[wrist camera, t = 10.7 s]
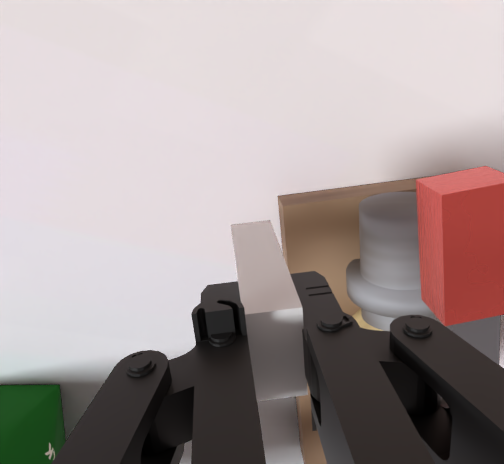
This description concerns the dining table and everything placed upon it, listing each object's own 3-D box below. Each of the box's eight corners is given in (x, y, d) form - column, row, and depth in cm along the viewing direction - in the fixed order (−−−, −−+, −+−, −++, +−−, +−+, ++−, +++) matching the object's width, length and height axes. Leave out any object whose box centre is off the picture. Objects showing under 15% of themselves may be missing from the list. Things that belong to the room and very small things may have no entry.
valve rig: (454, 424, 36) (546, 562, 26) (300, 447, 35) (335, 597, 26) (470, 171, 29) (606, 231, 19) (277, 196, 28) (314, 271, 18)
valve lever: (486, 465, 23) (516, 510, 20) (421, 478, 22) (445, 525, 20) (490, 163, 17) (533, 179, 15) (405, 179, 17) (435, 198, 15)
